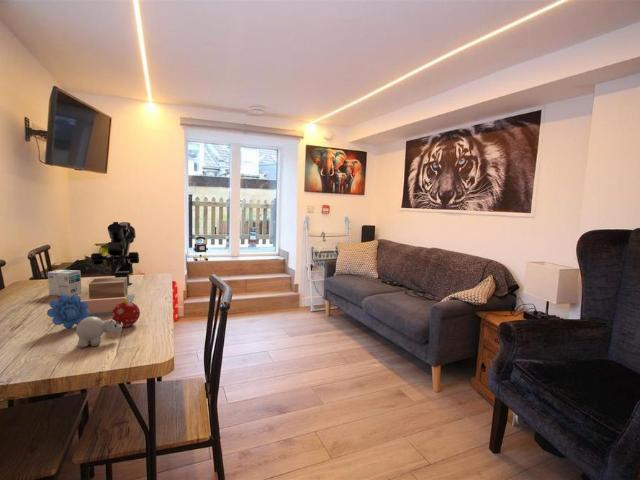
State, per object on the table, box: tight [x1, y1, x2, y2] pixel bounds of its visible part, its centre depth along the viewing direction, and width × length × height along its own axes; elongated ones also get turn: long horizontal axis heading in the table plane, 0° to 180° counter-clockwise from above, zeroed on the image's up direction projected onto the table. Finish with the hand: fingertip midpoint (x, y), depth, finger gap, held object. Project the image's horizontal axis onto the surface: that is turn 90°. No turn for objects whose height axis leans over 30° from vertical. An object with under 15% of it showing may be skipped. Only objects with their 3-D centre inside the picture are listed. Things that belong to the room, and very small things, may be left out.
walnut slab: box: [88, 277, 129, 300], centre depth 139 cm, size 10×12×7 cm
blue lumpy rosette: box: [46, 294, 90, 329], centre depth 112 cm, size 12×7×12 cm, turn 137°
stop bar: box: [80, 297, 127, 313], centre depth 127 cm, size 2×16×5 cm, turn 113°
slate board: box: [89, 294, 135, 317], centre depth 138 cm, size 25×16×1 cm, turn 23°
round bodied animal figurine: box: [75, 316, 123, 349], centre depth 102 cm, size 7×12×8 cm, turn 120°
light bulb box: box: [47, 269, 83, 297], centre depth 152 cm, size 11×7×11 cm, turn 84°
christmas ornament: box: [111, 298, 141, 328], centre depth 116 cm, size 9×9×10 cm
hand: (114, 273), depth 150 cm, fingers closed
